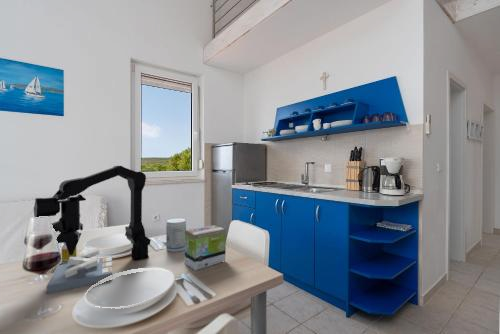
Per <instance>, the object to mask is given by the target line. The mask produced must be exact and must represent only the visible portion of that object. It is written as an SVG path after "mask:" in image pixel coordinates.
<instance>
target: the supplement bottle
mask: <svg viewBox="0 0 500 334" xmlns="http://www.w3.org/2000/svg"><path fill="white" fill-rule="evenodd" d="M62 244H63V245H62V246H61V247H60V248H61V251H60V252H61V255H62V258H61V259H62V261H61V265H63V264H67V263H68V260H69V257H76V256H78V255H77V247H76V248H75V251H74V253H73V255H69V252H68V249H67V246H66V243H65V242H63V243H62Z"/></svg>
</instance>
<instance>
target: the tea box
mask: <svg viewBox="0 0 500 334" xmlns="http://www.w3.org/2000/svg"><path fill="white" fill-rule="evenodd" d="M226 231H227V230H226V228H223V227H220V226H218V225H214V224H213V225H207V226H201V227H196V228H191V229H186V230H185V249H184V264H185V265H186V266H188V267H190V269H192V270H194V271H198V270H201V269H204V268H207V267H211V266H214V264H215V265H218V264H221V263H220V262H222V263H224V262H223V261H225V262H226V249H227V248H226V245H227V244H226V240H227V239H226V238H227V237H226V235H227V232H226ZM217 263H218V264H217Z"/></svg>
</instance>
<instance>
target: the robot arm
mask: <svg viewBox="0 0 500 334" xmlns="http://www.w3.org/2000/svg"><path fill="white" fill-rule="evenodd" d="M115 177H121V178H122V179H125V180H127V186H128V188H129V191H130V218H129V219H130V221H129V224H128V226H125V227H124V228H125V235H124V236H126V240H128V241H130V243H131V244H132V247H131V249H130V250H131V252H130V254H131V255H130V257H131V259H132V260H133V262H134V261H135V262H136V261H141V260H145V259H146V260H147V259H149V258H150V256H149V246H150V244H151V242H152V240H151V238H149V237H147V236H146V231H145V227H144V224H143V222H142V221H143V220H142V219H143V218H142V217H143V214H142V213H143V212H142V211H143V210H142V209H143V205H142V204H143V191H144V187H145V185H146V181H147V175H146V173H144V172H142V171H135V170H132V169H129V168H126V167H124V166H122V165H114V166H113V167H110V168H108V169H105V170H101V171H99V172H96V173H94V174H90V175H88V176H85V177H84V176H83V177H79V178H74V179H73V178H72V179H67V180H64V181H62V182H61V183H60V185H59V188H58V190H57V191H56V192H55V194H54V195H52V197H43V198H42V197H38V198H37V197H36V198H35V199H34V206H33V215H34V218H35V217H39V216H48V217H55V216H57V214H59V213H60V217H59V219H58V220H57V221H54V222H52V223H51V224H52V225H53V228H54V229H55V231H56V232H55V233H57V232H58V235H57V236H58V237H57V236H56V237H57V239H55V240H57V241H58V243H57V244H63V242H65V243H66V246H67V249H68V252H69V255H73V253H74V251H75V248H76V249H77V245H78V243H79V240H80V238H81V235H82V232H79V231H83V230H84V224H83V223H82V222H81V212H80V211H81V210H80V209H81V208H80V206H81V205H80V204H81V203H80V202H81V201H82V202H83V201H86V200H87V199H86V198H85V197H84V196H83V195H82V194H81V193H82V192H85V191H86V190H88V188H90V187H92V186H94V185H97V184H100V183H102V182H106V181H108V180H111V179H113V178H115Z"/></svg>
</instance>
